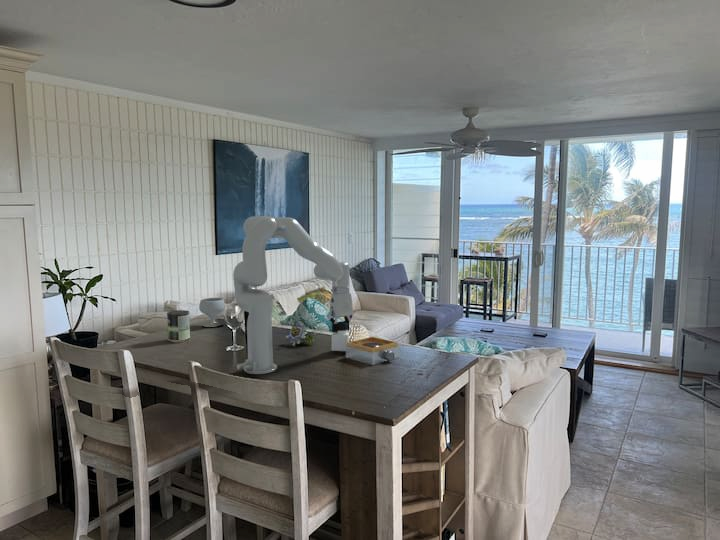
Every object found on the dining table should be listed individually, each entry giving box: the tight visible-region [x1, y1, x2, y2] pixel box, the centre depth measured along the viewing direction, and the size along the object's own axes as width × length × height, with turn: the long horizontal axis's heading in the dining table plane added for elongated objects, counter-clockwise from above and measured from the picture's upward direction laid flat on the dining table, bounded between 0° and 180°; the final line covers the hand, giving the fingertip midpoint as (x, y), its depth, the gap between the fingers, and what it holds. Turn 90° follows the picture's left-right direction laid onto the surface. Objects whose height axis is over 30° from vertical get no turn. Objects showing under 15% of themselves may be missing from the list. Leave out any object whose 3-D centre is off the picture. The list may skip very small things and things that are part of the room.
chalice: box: [198, 297, 226, 324], centre depth 282 cm, size 14×14×15 cm
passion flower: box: [285, 322, 316, 347], centre depth 239 cm, size 11×11×12 cm
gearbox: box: [345, 336, 400, 366], centre depth 214 cm, size 16×19×6 cm
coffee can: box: [166, 309, 191, 340], centre depth 249 cm, size 10×10×14 cm
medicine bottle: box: [331, 321, 349, 352], centre depth 223 cm, size 7×7×12 cm
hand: (340, 330), depth 223 cm, fingers closed on medicine bottle, 6 cm apart
